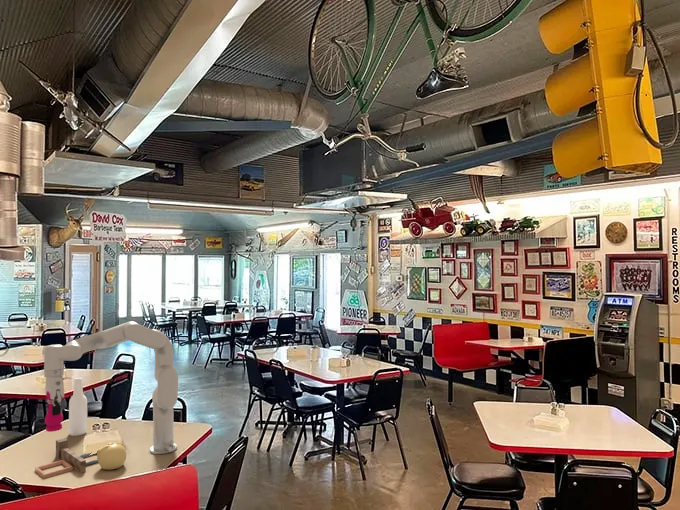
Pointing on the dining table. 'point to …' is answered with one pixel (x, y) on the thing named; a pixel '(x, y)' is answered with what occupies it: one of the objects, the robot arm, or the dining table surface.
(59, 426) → the pepper mill
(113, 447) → the pale yellow round fruit
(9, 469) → the dining table surface
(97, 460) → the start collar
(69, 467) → the collar
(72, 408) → the alcohol
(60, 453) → the door edge board
